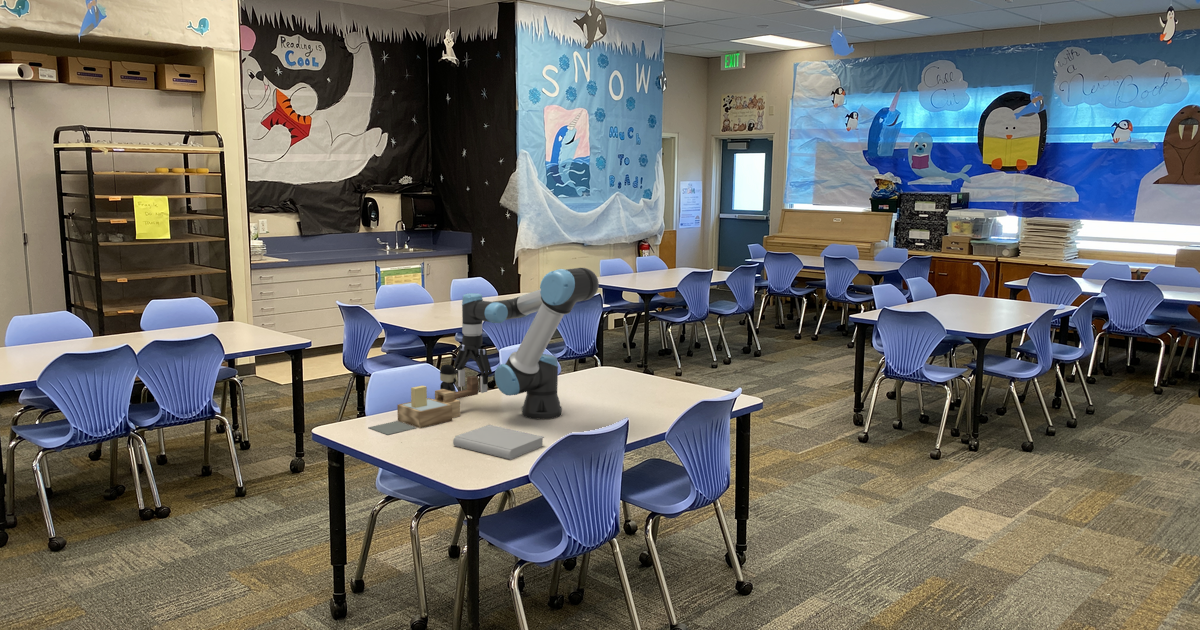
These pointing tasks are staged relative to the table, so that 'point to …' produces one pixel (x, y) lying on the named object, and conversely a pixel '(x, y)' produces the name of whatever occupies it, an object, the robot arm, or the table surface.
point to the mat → (392, 427)
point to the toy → (448, 377)
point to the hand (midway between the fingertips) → (472, 389)
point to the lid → (422, 400)
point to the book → (498, 441)
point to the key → (468, 388)
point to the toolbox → (431, 411)
